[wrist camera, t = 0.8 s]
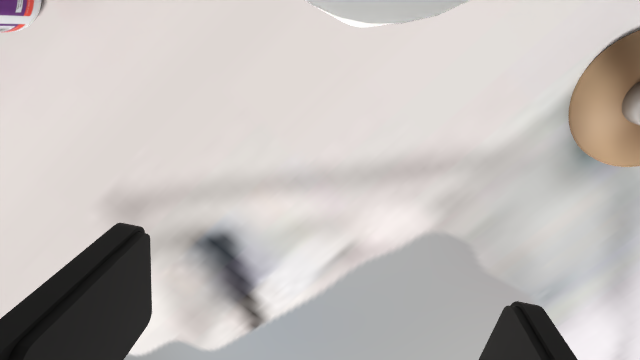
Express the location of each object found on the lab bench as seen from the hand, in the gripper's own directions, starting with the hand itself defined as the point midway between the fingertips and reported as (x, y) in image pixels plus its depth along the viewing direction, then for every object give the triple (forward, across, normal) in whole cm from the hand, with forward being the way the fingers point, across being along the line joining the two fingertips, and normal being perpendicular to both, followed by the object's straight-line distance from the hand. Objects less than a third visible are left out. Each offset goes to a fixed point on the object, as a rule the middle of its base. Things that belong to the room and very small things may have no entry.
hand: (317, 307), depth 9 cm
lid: (+27, -25, -5) cm, 37 cm away
